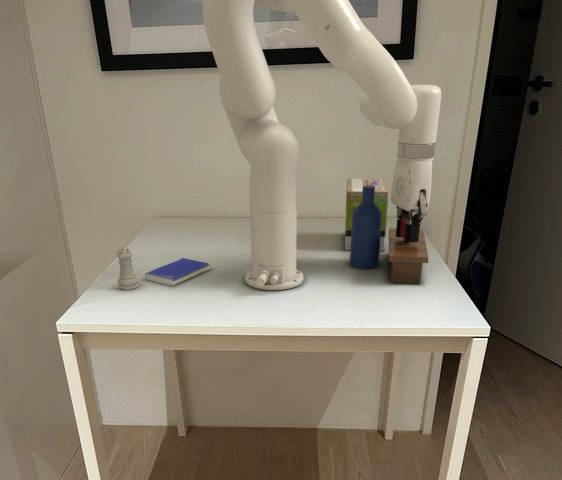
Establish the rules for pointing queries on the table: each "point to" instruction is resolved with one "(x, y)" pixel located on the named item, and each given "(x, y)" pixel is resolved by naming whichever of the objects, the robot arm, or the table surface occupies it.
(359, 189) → the tea box
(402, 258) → the brown wooden box
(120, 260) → the rook chess piece
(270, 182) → the robot arm
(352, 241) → the bottle
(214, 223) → the table surface
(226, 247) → the table surface
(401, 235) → the cap
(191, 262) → the blue book
